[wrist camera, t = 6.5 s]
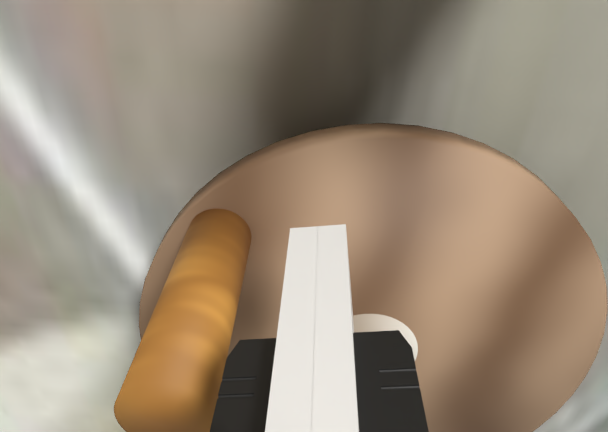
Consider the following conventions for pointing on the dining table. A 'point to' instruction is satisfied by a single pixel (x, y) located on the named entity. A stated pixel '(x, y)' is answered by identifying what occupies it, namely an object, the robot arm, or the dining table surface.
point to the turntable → (379, 276)
